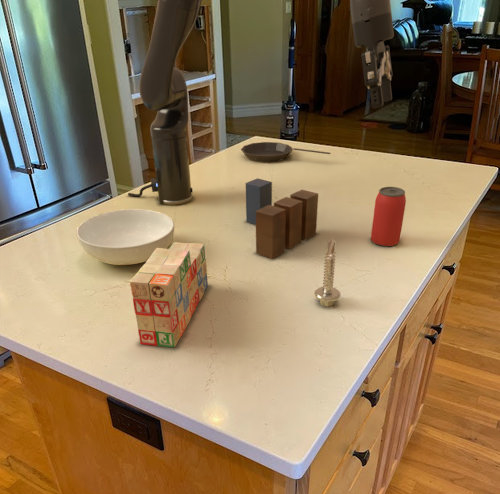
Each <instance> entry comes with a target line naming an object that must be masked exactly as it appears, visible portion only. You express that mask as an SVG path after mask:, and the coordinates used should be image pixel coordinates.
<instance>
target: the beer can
mask: <svg viewBox="0 0 500 494" xmlns="http://www.w3.org/2000/svg"><path fill="white" fill-rule="evenodd" d="M406 204H407V198H406V191H405V190H404V189H403V188H401V187H397V186H384V187H381V188H379V190H378V193H377V195H376V197H375V202H374V209H373V217H372V223H371V224H372V225H371V232H370V240H371V242H372V243H374V244H375V245H377V246H380V247H392V246H396V245H398V244H399V243H400V242H401V235H402V229H403V224H404V223H403V222H404V216H405V209H406Z"/></svg>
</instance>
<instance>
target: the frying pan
mask: <svg viewBox="0 0 500 494" xmlns="http://www.w3.org/2000/svg"><path fill="white" fill-rule="evenodd" d="M240 150H241V152H242V153H243V155H244V156H245V158H247V159H248V160H249V161H252V162H257V163H275V162H276V163H277V162H279V161H284V160H286V159H288V157H289V156H290V155H291V153H292V152H293V151H301V152H306V153H307V152H308V153H316V154H325V155H331V152H328V151H320V150H313V149H304V148H295V147H292V146H291V145H289V144H287V143H282V142H276V141H275V142H274V141H260V142H252V143H249V144H245V145H243V146H242V147H241V149H240Z"/></svg>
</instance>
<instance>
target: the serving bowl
mask: <svg viewBox="0 0 500 494" xmlns="http://www.w3.org/2000/svg"><path fill="white" fill-rule="evenodd" d="M174 234H175V222H174V219H172V218H171V216H169V215H167V214H166V213H163V212H160V211H157V210H154V209H153V210H152V209H147V208H146V209H144V208H126V209H117V210H111V211H105V212H102V213H99V214H97V215H93V216H92V217H89V218H88V219H86V220H84V221H82V222H81V223H80V224H79V225H78V226H77V228H76V237H77V240H78V242H79V245H80V246H81V247H82V249H83V250H84V252H85V253H86V254H88V255H89V256H90V257H91V258H93V259H95V260H97V261H99V262H102V263H105V264H109V265H116V266H118V265H119V266H126V265H135V264H141V263H146V261H147V260H148V259H149V257H150V256H151V255H152V253H153V252H154V251H155V249H156V248H163V249H169V247H170V245H171V243H172V241H173V239H174Z"/></svg>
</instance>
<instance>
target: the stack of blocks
mask: <svg viewBox="0 0 500 494" xmlns="http://www.w3.org/2000/svg"><path fill="white" fill-rule="evenodd" d="M207 267H208V265H207V258H206V247H205V243H195V242H194V243H193V242H179V241H178V242H176V241H174V242H173V243H172V244H171V246H169V248H167V249H163V248H156V249H155V251H154V252H153V253H152V255H151V256H150V257H149V259H148V260H147V261H145V262H144V264H142V266H141V267H140V268H139V270H138V271H137V273H135V274H134V276H133V277H132V278H131V279H130V282H129V283H130V289H131V290H130V291H131V295H132V303H133V309H134V314H135V318H136V319H135V320H136V324H137V331H138V332H137V333H138V336H139V343H140V345H147V346H156V347H157V346H159V347H167V348H176V346H177V344H178V342H179V341H180V339H181V337H182V336H183V334H184V332H185V330H186V328H187V326H188V325H189V323H190V321H191V319H192V316H193V314H194V312H195V310H196V308H197V306H198V304H199V302H200V301H201V300H202V298H203V296H204V294H205V292H206V290H207V289H208V287H209V281H208V268H207Z"/></svg>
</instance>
